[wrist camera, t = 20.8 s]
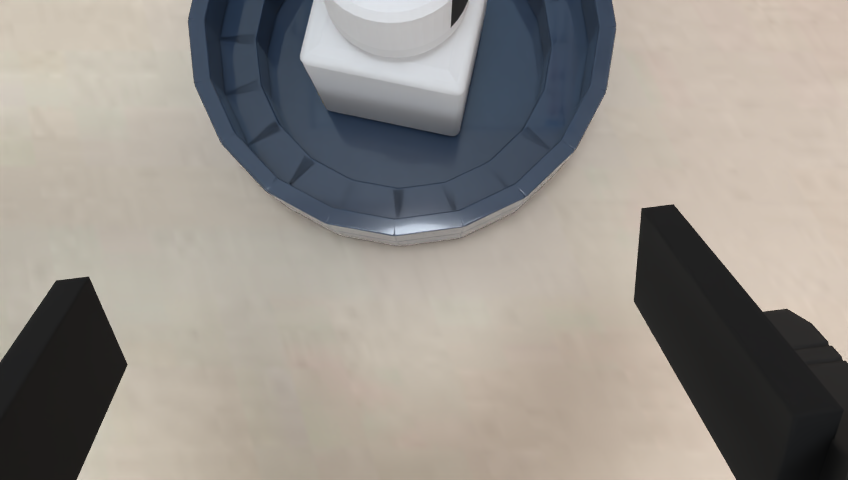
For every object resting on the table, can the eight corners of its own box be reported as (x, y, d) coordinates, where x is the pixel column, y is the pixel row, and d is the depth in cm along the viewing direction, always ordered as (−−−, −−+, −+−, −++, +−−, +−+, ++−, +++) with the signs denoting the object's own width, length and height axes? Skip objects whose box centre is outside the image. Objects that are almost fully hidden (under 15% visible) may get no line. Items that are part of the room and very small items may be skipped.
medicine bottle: (354, -16, 36) (314, -182, 24) (485, 10, 36) (511, -144, 24) (324, 111, 35) (267, 6, 23) (457, 139, 35) (469, 47, 23)
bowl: (148, 58, 36) (103, 17, 31) (412, -176, 37) (408, -251, 32) (398, 324, 34) (391, 325, 29) (666, 68, 36) (703, 27, 31)
